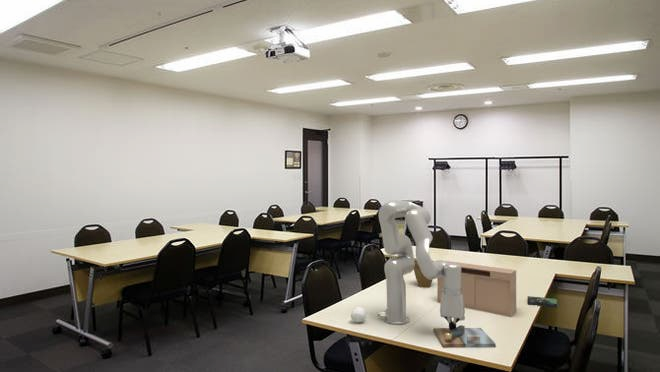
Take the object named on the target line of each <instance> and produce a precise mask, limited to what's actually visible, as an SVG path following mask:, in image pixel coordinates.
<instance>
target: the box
mask: <svg viewBox="0 0 660 372" xmlns="http://www.w3.org/2000/svg"><path fill="white" fill-rule="evenodd" d="M445 261H446V262H449V263H457V264H459V265H460V266H461V294H462V295H463V299H464V308H465V309H469V310H474V311H479V312H484V313H489V314H494V315H499V316H503V317H508V318H512V317H513V316H514V315H515V314H516V313H517V270H516V269H510V268H505V267H495V266H488V265H479V264H471V263H465V262H457V261H456V262H455V261H449V260H445ZM436 281H437V282H436V283H437V284H436V285H437V287H436V288H437V289H436V290H437V291H436V293H437V303H438V304H439V303H440V304H441V296H442V293H443V290H441V287H444V276H443V277H439V278H436Z"/></svg>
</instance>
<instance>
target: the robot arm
mask: <svg viewBox="0 0 660 372" xmlns="http://www.w3.org/2000/svg"><path fill="white" fill-rule="evenodd" d="M397 218H404V220H405V223H406V225H407V228H408V231H409V232H410V233H411V236H412V238H413V240H414V243H415V255H414V250H413V245H412V242H411V241H412V240H411V239H410V238H409V236H407V235H406V234H403V233H401V234H400V232H399V226H398V224H397V222H396V220H395V219H397ZM431 219H432V217H431V213H430V212H429V211H428V210H427V209H426V208H425V207H422V206H421V205H418V204H416V203H413V201H412V202H411V201H410V200H407V199H404V200H402V199H401V200H392V201H388V202H385V203H384V204H383V205H382V206H381V207H380V208H379V211H378V221H379V224H380V229H381V238H382V242H383V247H384V252H385V253H386V254H387V255H388V256H395V255H397V256H395V257H391V258H389V259H388V260H387V261H386V262H385V263H384V265H383V266H384V268H383V269H384V274H385V282H386V309H385V311H377V317H380V318H383V320H384V322H386V323H388V324H390V323H391V325H405V324H407V323H409V322H410V318H409V316H407V289H406V288H407V287H406V285H407V284H406V282H405V279H404V276H405V275H407V274H411V273H412V272H414V266H415V262H414V261H415V260H417V263H418V265H419V268H420V270H421V272H422V274H423V275H424V276H425V277H426V278H427V279H430V280H432V279H433V280H437V278H439V277H443V276H444V287H441V290H443V293H442V296H441V303H440V306H439V314H440V315H439V316H440V317H441V318H443V319H445V320H446V321H447V323H448V328H449V329H450V331H451V330H453V329H454V328H456V327H457V323H458V322H459V321H460V322H461V321H465V319H466V316H465V311H466V310H465V309H466V308H464V299H463V295H462V294H461V266H460V265H459V264H457V263H449V262H446V261H447V260H443V259H437V260H432V258H431V255H430V250H429V249H430V244H432V243H431V242H432V241H433V235H432V232H431V230H430V228H429V226H428V225H429V224H430V222H431ZM415 258H416V259H415ZM432 261H433V262H432ZM433 280H432V281H433Z"/></svg>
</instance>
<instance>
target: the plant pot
mask: <svg viewBox="0 0 660 372" xmlns="http://www.w3.org/2000/svg"><path fill="white" fill-rule="evenodd" d="M433 261H434V260H432V262H433ZM414 262H415V266H414V270H413V272H414V275H415V279H416V282H417V284H418V287H420V288H424V289H425V288H427V289H428V288H430V287H431V286H432V282H433V280H434V279H432V280H430V279H427V278H426V277H425V276H424V275H423V274H422V272H421V270H420V268H419V265H418V263H417V260H416V259H414Z"/></svg>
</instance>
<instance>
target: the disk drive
mask: <svg viewBox="0 0 660 372" xmlns="http://www.w3.org/2000/svg"><path fill="white" fill-rule="evenodd" d="M527 305H528V306H535V305H537V307H545V308H552V309H553V308H555V309H558V308H559V304H558V301H557V299H556V298H551V297H550V298H549V297H539V296H531V295H529V296H527Z"/></svg>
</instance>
